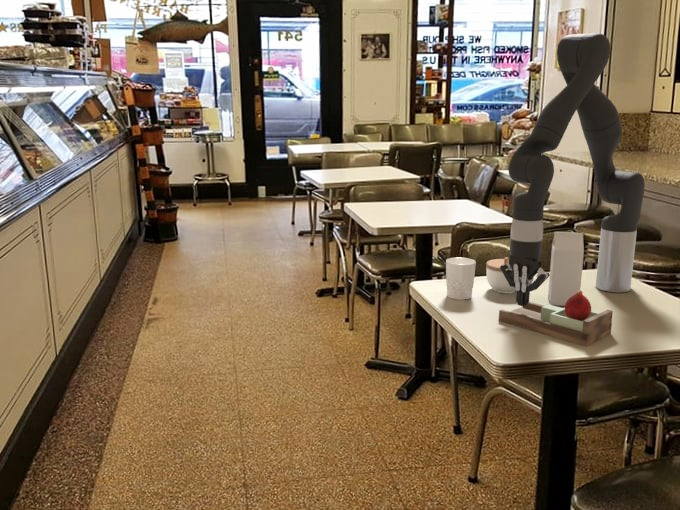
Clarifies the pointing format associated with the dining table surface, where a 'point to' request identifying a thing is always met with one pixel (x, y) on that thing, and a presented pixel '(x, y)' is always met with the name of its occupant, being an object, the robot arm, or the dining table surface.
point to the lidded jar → (497, 275)
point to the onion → (578, 307)
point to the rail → (531, 320)
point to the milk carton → (565, 267)
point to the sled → (561, 317)
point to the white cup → (460, 277)
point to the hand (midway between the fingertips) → (522, 305)
